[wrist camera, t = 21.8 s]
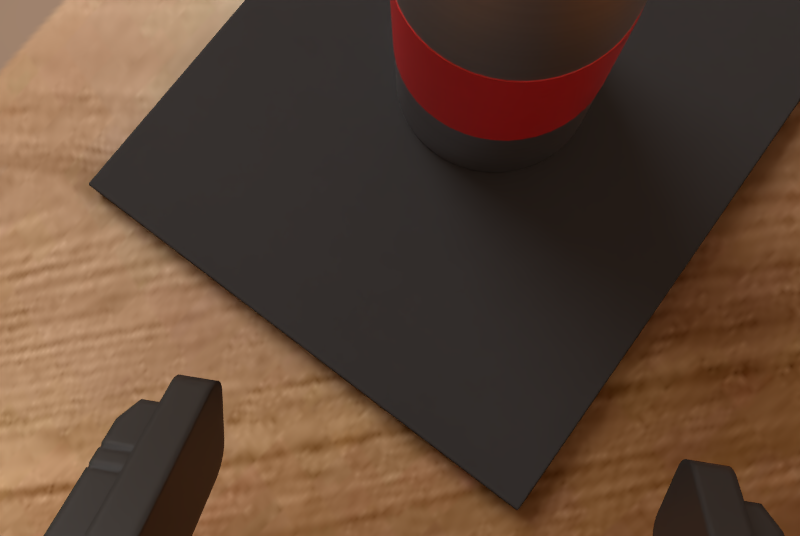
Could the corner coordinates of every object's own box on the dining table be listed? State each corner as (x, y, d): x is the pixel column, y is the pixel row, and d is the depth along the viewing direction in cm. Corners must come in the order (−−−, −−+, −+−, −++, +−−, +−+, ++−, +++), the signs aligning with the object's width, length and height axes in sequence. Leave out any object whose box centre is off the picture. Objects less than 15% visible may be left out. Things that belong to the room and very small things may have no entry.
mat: (515, 508, 21) (517, 511, 21) (95, 189, 24) (87, 183, 23) (870, -9, 24) (882, -19, 24) (468, -249, 27) (468, -264, 26)
